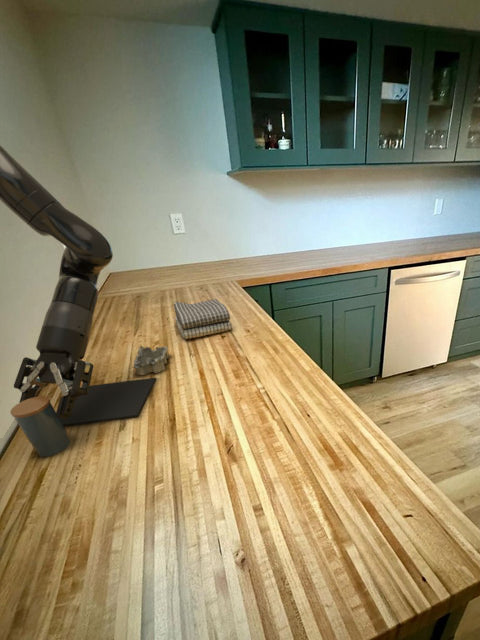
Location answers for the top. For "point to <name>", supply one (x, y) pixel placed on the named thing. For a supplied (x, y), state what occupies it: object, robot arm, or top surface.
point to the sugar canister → (41, 425)
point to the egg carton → (150, 360)
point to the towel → (201, 318)
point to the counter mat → (110, 402)
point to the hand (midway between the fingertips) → (43, 416)
